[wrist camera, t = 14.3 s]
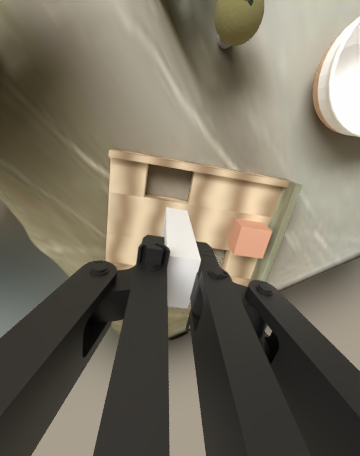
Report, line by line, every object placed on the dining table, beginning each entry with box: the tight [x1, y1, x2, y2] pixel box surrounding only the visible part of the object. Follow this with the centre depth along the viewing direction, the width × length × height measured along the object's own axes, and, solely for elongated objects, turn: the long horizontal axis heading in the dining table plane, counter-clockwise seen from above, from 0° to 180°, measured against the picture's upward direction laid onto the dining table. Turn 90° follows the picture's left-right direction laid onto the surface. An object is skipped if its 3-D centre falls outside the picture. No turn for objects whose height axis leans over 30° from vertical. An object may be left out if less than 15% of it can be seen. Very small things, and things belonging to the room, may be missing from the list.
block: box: [228, 218, 272, 259], centre depth 40 cm, size 6×6×4 cm
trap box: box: [106, 149, 303, 287], centre depth 40 cm, size 31×22×6 cm
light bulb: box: [215, 0, 264, 48], centre depth 28 cm, size 6×6×10 cm
